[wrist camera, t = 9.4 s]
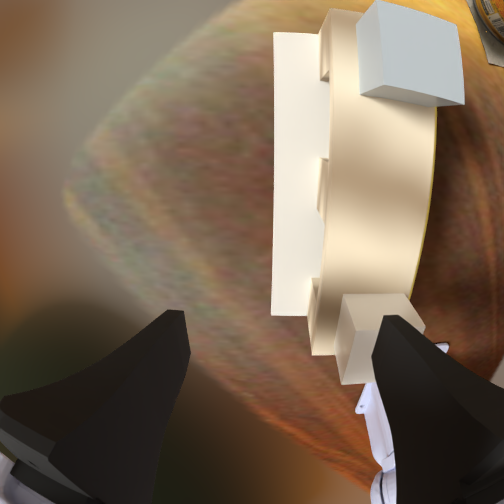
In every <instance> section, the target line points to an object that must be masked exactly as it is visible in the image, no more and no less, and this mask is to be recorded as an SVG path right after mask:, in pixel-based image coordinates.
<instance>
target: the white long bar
mask: <svg viewBox="0 0 504 504" xmlns="http://www.w3.org/2000/svg"><path fill="white" fill-rule="evenodd" d="M364 14H365V13H360V12H354V11H348V10H342V9H334V8H330V9H329V12H328V14H327V16H326V18H325V20H324V23H323V25H322V27H321V29H320V31H319V34H318V40H319V70H320V81H329V83H330V125H329V158H321V157H319V172H318V194H317V210H318V212H319V214H320V216H321V218H322V220H323V222H324V224H325V228H324V240H323V251H322V261H321V270H320V278H311V285H310V294H309V303H308V312H307V319H308V326H309V334H310V341H311V349H312V355H335V351H334V341H335V336H336V331H337V326H338V321H339V315H340V310H341V304H342V298H343V294H387V293H404V294H405V295H406V297H407V298H409V294H410V290H411V287H412V283H413V279H414V275H415V271H416V266H417V262H418V258H419V253H420V248H421V243H422V238H423V233H424V227H425V221H426V215H427V209H428V202H429V194H430V186H431V177H432V166H433V154H434V135H435V107H425V106H421V105H417V104H412V103H407V102H402V101H397V100H391V99H386V98H379V97H373V96H366V95H359V65H358V47H357V34H356V24H357V22H358V21H359V20H360V19H361V17H362V16H363V15H364Z"/></svg>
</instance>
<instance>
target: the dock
mask: <svg viewBox="0 0 504 504" xmlns="http://www.w3.org/2000/svg"><path fill="white" fill-rule="evenodd" d="M273 33H274V224H273V268H272V301H271V315H282V316H307V312H308V303H309V294H310V285H311V278H320V270H321V261H322V251H323V240H324V228H325V224H324V222H323V220H322V218H321V216H320V214H319V212H318V210H317V194H318V172H319V157H321V158H329V125H330V83H329V81H320V70H319V40H318V34H306V33H285V32H273ZM436 130H437V107H435V135H434V154H433V166H432V177H431V186H430V194H429V202H428V209H427V215H426V221H425V227H424V233H423V238H422V243H421V248H420V253H419V258H418V262H417V266H416V271H415V275H414V279H413V283H412V287H411V290H410V294H409V298H408V300H409V301H410V297H411V293H412V290H413V286H414V282H415V278H416V274H417V270H418V266H419V261H420V257H421V252H422V248H423V243H424V238H425V232H426V227H427V221H428V215H429V208H430V201H431V193H432V185H433V176H434V165H435V151H436Z"/></svg>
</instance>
